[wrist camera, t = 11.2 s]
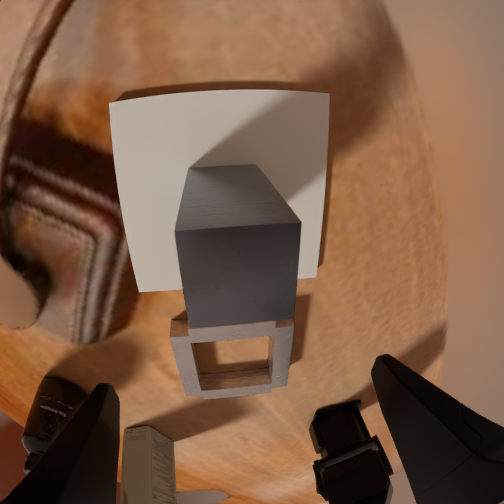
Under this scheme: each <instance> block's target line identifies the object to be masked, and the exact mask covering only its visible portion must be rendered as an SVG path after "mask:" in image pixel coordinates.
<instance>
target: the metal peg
mask: <svg viewBox="0 0 504 504" xmlns="http://www.w3.org/2000/svg"><path fill="white" fill-rule="evenodd" d="M301 226H302V222H301V221H300V219H299V218H298V217H297V215H296V214H295V213H294V211H293V210H292V209H291V208H290V206H289V205H288V204H287V202H286V201H285V200H284V199H283V197H282V196H281V195H280V193H279V192H278V191H277V190H276V188H275V187H274V186H273V185H272V183H271V182H270V181H269V180H268V178H267V177H266V176H265V175H264V173H263V172H262V171H261V170H260V168H259V167H258V166H257V165H256V164H248V165H227V166H211V167H197V168H188V172H187V176H186V180H185V185H184V189H183V193H182V198H181V202H180V206H179V211H178V216H177V220H176V225H175V230H174V233H175V241H176V248H177V255H178V262H179V269H180V275H181V281H182V288H183V294H184V300H185V305H186V311H187V317H188V322H189V327H190V328H202V327H214V326H226V325H237V324H247V323H256V322H265V321H274V320H282V319H290V318H294V309H295V299H296V288H297V277H298V266H299V253H300V240H301Z"/></svg>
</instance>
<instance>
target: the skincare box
mask: <svg viewBox="0 0 504 504" xmlns="http://www.w3.org/2000/svg"><path fill="white" fill-rule="evenodd" d="M121 504H177V493H176V478H175V459H174V442H173V441H171V440H170V439H168V438H167V437H165V436H164V435H162V434H161V433H159V432H158V431H156V430H155V429H153V428H151V427H150V426H144V427H137V428H131V429H125V430H124V437H123V451H122V471H121Z"/></svg>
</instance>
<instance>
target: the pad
mask: <svg viewBox="0 0 504 504" xmlns="http://www.w3.org/2000/svg"><path fill="white" fill-rule="evenodd" d="M329 103H330V93H319V92H307V91H290V90H214V91H197V92H185V93H174V94H165V95H156V96H149V97H142V98H135V99H129V100H123V101H117V102H112V103H109V109H110V123H111V135H112V145H113V154H114V163H115V171H116V178H117V185H118V192H119V198H120V204H121V210H122V216H123V221H124V227H125V232H126V237H127V242H128V247H129V251H130V256H131V260H132V265H133V269H134V273H135V277H136V282H137V286H138V289H139V292H149V291H164V290H179V289H183V288H182V281H181V275H180V269H179V262H178V255H177V248H176V241H175V233H174V230H175V225H176V220H177V216H178V211H179V206H180V202H181V198H182V193H183V189H184V185H185V180H186V176H187V172H188V168H197V167H211V166H227V165H248V164H256V165H257V166H258V167H259V168H260V170H261V171H262V172H263V173H264V175H265V176H266V177H267V178H268V180H269V181H270V182H271V183H272V185H273V186H274V187H275V188H276V190H277V191H278V192H279V193H280V195H281V196H282V197H283V199H284V200H285V201H286V202H287V204H288V205H289V206H290V208H291V209H292V210H293V211H294V213H295V214H296V215H297V217H298V218H299V219H300V221H301V222H302V226H301V240H300V253H299V266H298V277H297V279H303V278H313V277H316V274H317V266H318V258H319V249H320V240H321V230H322V220H323V209H324V197H325V184H326V169H327V153H328V133H329Z"/></svg>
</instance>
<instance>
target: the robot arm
mask: <svg viewBox="0 0 504 504" xmlns="http://www.w3.org/2000/svg"><path fill="white" fill-rule="evenodd" d="M371 377H372V380H373V384H374V387H375V390H376V394H377V397H378V401H379V404H380V408H381V411H382V413H383V416H384V418H385V421H386V423H387V426H388V428H389V431H390V433H391V436H392V438H393V441H394V443H395V446H396V448H397V451H398V454H399V456H400V459H401V461H402V464H403V467H404V469H405V472H406V475H407V478H408V480H409V483H410V486H411V489H412V491H413V494H414V496H415V500H416V503H417V504H504V427H502V426H500V425H498V424H496V423H494V422H492V421H490V420H488V419H487V418H485V417H483V416H481V415H479V414H478V413H476V412H474V411H473V410H471V409H470V408H468V407H466V406H465V405H463V404H462V403H460V402H459V401H457V400H456V399H454V398H453V397H451V396H450V395H449V394H447V393H445V392H444V391H443V390H441V389H440V388H438V387H437V386H435V385H434V384H432V383H431V382H429V381H428V380H426V379H425V378H423V377H422V376H420V375H419V374H417V373H416V372H414V371H413V370H411V369H410V368H409V367H407V366H406V365H404V364H403V363H401V362H400V361H398V360H397V359H395V358H394V357H392V356H391V355H389V354H384V355H380V356H378V357H377V358H376V360H375V363H374V365H373V368H372V370H371ZM361 404H362V402H361V400H358V401H355V402H351V403H347V404H343V405H339V406H335V407H331V408H326V409H322V410H318V411H316V412H315V415H314V418H313V421H312V422H311V425H310V428H309V433H310V436H311V439H312V442H313V445H314V449H315V452H316V453H317V454H319V453H320V454H321V457H322V459H320V460H316V461H314V465H313V469H314V473H315V477H316V490H317V493H318V494H320V495H322V497H323V498H324V499H325V501H329V504H390V501H391V497H392V494H393V488H392V484H391V481H390V479H389V476H391V475H393V474H394V473H393V470H392V468H391V465H390V463H389V460H388V458H387V456H386V454H385V452H384V449H383V447H382V445H381V443H380V441H379V439H378V437H377V435H375V436H373V437H372V438H371V436H370V434H369V431H368V429H367V427H366V425H365V422H364V420H363V418H362V416H361V413H360V411H359V408H360V406H361ZM119 446H120V401H119V397H118V395H117V394H116V392H115V390H114V388H113V386H112V385H111V384H109V383H99V384H98V385H97V386H96V387H95V389H94V390H93V391H92V392H91V394H90V395H89V396H88V397H87V399H86V400H85V401H84V402H83V404H82V405H81V406H80V407H79V409H78V410H77V411H76V412H75V414H74V415H73V416H72V418H71V419H70V420H69V421H68V423H67V424H66V425H65V427H64V428H63V429H62V430H61V432H60V433H59V434H58V436H57V437H56V438H55V440H54V441H53V442H52V443H51V445H50V446H49V447H48V449H47V450H46V451H45V453H44V455H42V457H41V458H40V459H39V461H38V462H37V463H36V464H35V466H34V467H33V468H32V469H31V471H30V472H29V473H28V474H27V475H26V476H25V478H24V479H23V480H22V481H21V482H20V483H19V484H18V485H17V486H16V487H15V488H14V489H13V490H12V491H11V492H10V493H9V495H8V496H7V497H5V499H3V500H2V501H1V502H0V504H116V487H117V471H118V457H119ZM376 449H377V450H378V451H377V450H376Z"/></svg>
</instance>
